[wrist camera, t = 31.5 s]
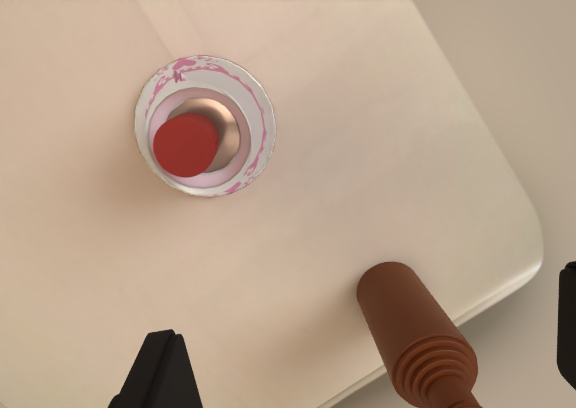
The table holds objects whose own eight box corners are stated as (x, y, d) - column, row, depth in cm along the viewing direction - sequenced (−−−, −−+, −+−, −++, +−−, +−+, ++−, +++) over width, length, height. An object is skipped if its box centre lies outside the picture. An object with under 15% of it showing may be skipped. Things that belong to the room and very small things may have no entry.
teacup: (293, 171, 38) (299, 189, 32) (168, 212, 39) (152, 238, 33) (249, 35, 35) (246, 27, 29) (111, 82, 35) (81, 84, 29)
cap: (216, 110, 30) (211, 114, 27) (223, 165, 31) (219, 175, 28) (159, 114, 30) (148, 119, 27) (168, 169, 31) (158, 180, 28)
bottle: (416, 255, 42) (515, 373, 25) (422, 311, 43) (518, 454, 27) (352, 269, 42) (410, 395, 25) (361, 324, 43) (420, 474, 27)
